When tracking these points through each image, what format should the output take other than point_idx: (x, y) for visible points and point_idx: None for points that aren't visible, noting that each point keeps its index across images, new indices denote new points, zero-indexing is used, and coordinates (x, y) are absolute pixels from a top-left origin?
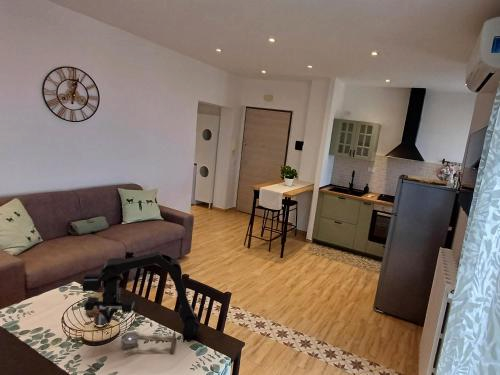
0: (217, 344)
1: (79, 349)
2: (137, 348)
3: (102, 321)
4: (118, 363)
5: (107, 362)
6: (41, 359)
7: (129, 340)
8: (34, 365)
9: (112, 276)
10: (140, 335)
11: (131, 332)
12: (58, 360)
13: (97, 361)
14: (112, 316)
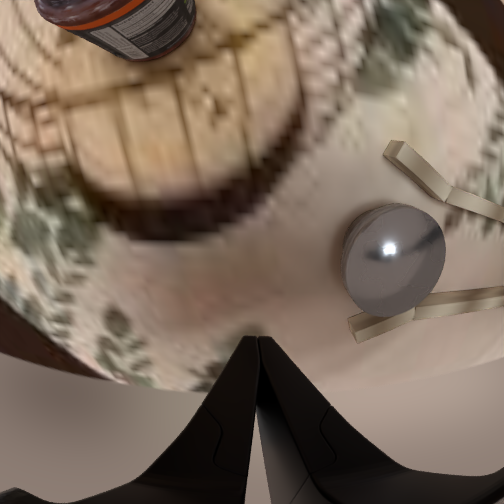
0: None
1: (99, 274)
2: (417, 311)
3: (150, 43)
4: (322, 365)
5: None
6: (11, 318)
7: (395, 297)
8: (15, 342)
9: None
10: (444, 201)
11: (413, 213)
12: (60, 333)
13: (222, 356)
14: (308, 388)
